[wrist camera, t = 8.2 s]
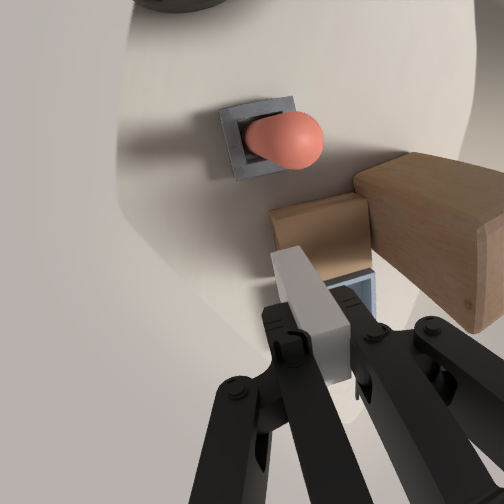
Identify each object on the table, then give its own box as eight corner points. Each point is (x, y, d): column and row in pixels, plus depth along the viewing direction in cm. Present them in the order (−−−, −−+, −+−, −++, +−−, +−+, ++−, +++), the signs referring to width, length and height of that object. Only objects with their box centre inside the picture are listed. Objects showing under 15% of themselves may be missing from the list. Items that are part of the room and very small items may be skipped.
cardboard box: (268, 210, 34) (275, 220, 30) (351, 191, 34) (367, 198, 31) (281, 274, 37) (289, 290, 34) (357, 253, 38) (372, 266, 34)
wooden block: (367, 249, 37) (472, 343, 19) (347, 174, 33) (476, 228, 15) (428, 220, 37) (541, 287, 19) (414, 149, 33) (548, 182, 15)
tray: (284, 281, 37) (291, 296, 34) (362, 260, 38) (375, 272, 34) (296, 345, 41) (303, 362, 38) (364, 324, 42) (375, 338, 38)
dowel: (238, 124, 30) (260, 117, 17) (272, 117, 30) (317, 107, 17) (246, 157, 31) (272, 175, 18) (280, 150, 31) (328, 163, 19)
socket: (218, 112, 29) (219, 109, 26) (285, 98, 29) (292, 95, 27) (234, 176, 32) (236, 181, 29) (298, 162, 32) (306, 165, 29)
